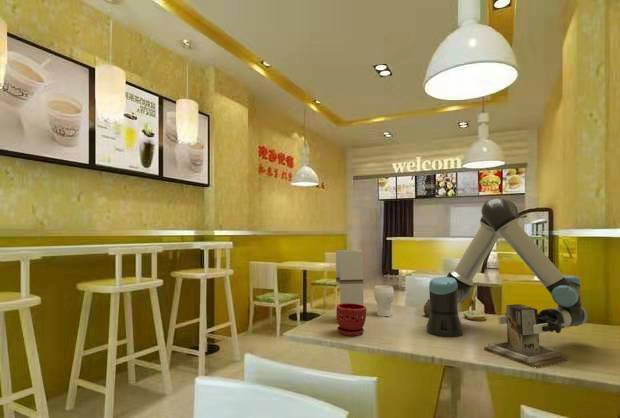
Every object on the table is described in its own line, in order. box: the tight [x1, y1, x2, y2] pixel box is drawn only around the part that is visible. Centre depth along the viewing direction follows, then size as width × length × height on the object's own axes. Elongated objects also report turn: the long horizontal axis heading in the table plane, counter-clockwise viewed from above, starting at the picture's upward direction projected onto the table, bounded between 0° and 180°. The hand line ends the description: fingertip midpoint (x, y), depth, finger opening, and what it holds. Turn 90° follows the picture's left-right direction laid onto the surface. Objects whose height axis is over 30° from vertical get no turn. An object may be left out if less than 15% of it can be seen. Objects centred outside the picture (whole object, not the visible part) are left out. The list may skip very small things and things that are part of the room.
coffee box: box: [505, 303, 540, 356], centre depth 128 cm, size 9×6×16 cm
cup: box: [373, 285, 395, 317], centre depth 190 cm, size 11×11×15 cm
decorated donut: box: [462, 309, 487, 322], centre depth 181 cm, size 10×11×4 cm
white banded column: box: [335, 249, 364, 320], centre depth 179 cm, size 11×11×35 cm
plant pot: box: [336, 303, 367, 336], centre depth 157 cm, size 13×13×12 cm
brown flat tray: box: [483, 340, 568, 369], centre depth 127 cm, size 20×16×2 cm
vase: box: [423, 298, 430, 318], centre depth 186 cm, size 7×7×9 cm
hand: (516, 324), depth 127 cm, fingers open, 13 cm apart
